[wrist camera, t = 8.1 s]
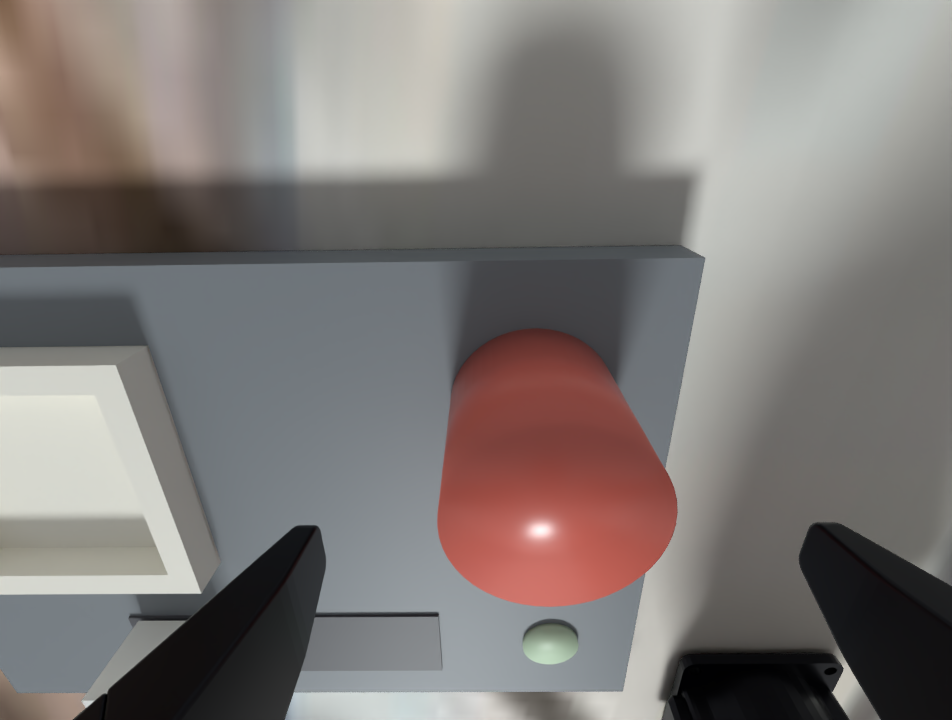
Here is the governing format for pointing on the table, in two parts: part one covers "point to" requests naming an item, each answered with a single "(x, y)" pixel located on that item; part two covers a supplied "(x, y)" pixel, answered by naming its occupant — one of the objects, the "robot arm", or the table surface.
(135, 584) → the breaker panel
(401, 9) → the table surface
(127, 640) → the block
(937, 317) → the table surface
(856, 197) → the table surface
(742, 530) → the table surface
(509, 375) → the cap
